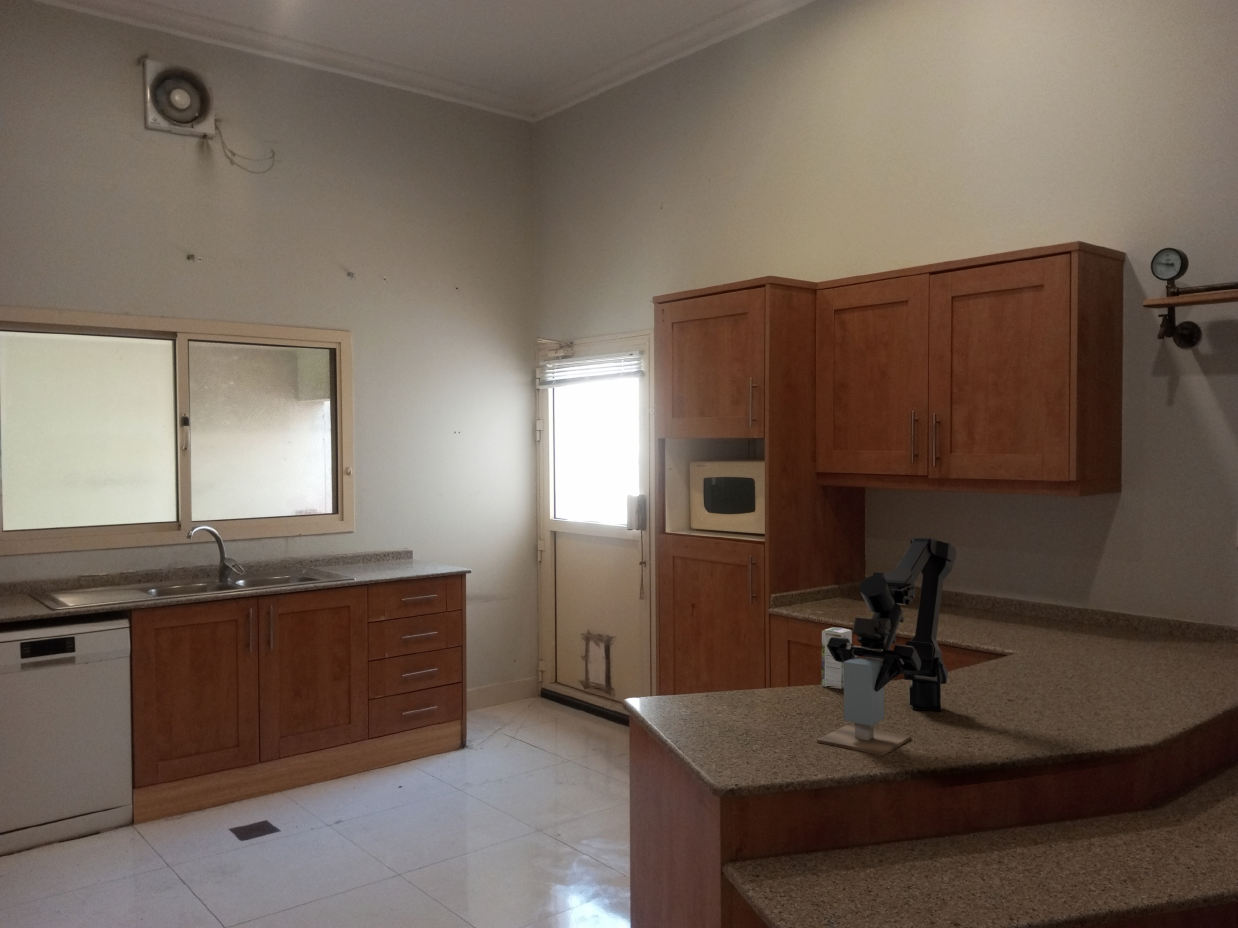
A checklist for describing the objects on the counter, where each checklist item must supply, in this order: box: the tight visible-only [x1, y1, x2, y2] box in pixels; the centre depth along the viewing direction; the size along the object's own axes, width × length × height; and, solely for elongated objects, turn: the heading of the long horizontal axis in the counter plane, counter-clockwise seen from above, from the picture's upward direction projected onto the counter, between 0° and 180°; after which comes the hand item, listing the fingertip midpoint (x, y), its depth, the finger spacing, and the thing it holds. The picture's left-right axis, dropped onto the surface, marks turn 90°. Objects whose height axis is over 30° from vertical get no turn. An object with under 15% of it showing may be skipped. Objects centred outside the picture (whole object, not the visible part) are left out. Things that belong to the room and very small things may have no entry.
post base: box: [816, 723, 912, 756], centre depth 189 cm, size 14×14×5 cm
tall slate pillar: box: [843, 656, 885, 726], centre depth 189 cm, size 6×6×12 cm
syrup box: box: [820, 627, 853, 690], centre depth 237 cm, size 6×6×14 cm
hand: (861, 687), depth 188 cm, fingers closed on tall slate pillar, 6 cm apart
